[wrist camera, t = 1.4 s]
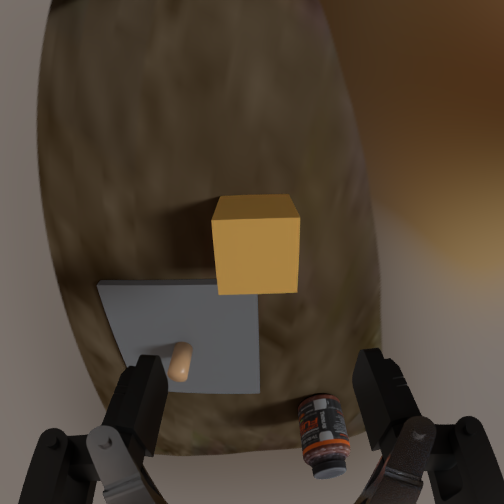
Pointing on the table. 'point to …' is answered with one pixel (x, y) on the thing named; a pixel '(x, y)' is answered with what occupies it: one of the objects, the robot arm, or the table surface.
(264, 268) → the mustard foam cube
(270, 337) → the table surface
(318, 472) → the supplement bottle
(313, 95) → the table surface
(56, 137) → the table surface
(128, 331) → the thin gray plate
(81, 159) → the table surface
